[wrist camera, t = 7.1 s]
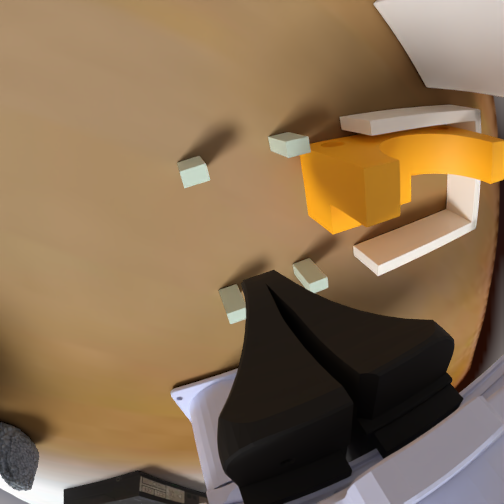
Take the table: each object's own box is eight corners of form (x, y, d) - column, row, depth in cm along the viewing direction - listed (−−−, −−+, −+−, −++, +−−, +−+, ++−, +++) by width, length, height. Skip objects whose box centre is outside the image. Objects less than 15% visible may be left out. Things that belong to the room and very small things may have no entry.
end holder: (451, 215, 22) (475, 228, 20) (353, 255, 21) (378, 276, 18) (450, 104, 18) (480, 109, 15) (339, 116, 16) (369, 120, 14)
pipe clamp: (307, 214, 19) (367, 262, 13) (296, 145, 17) (363, 168, 11) (438, 176, 20) (501, 204, 15) (436, 123, 18) (505, 140, 13)
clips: (310, 268, 20) (328, 287, 18) (294, 274, 20) (310, 294, 18) (288, 132, 16) (308, 136, 14) (267, 136, 16) (285, 141, 14)
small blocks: (239, 293, 20) (250, 317, 17) (221, 299, 19) (230, 324, 17) (199, 155, 15) (205, 163, 13) (177, 162, 15) (179, 171, 13)
